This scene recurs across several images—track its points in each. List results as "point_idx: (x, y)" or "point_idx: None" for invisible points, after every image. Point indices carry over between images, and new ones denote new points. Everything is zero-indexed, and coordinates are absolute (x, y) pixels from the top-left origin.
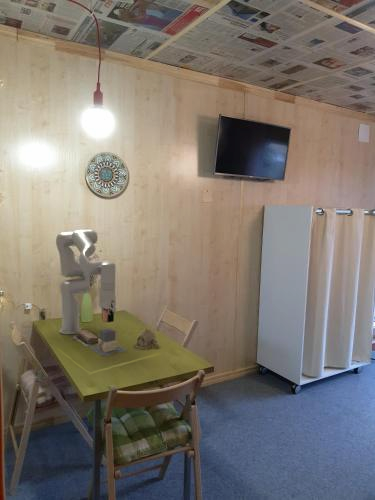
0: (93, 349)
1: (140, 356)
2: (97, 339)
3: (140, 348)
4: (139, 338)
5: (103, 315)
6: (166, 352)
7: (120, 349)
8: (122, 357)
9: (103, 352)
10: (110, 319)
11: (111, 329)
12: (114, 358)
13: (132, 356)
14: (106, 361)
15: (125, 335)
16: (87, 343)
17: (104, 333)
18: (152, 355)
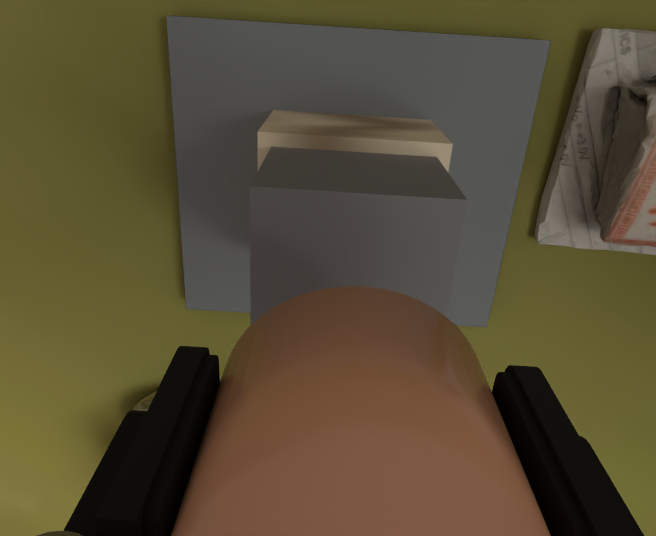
0: (434, 49)
1: (39, 331)
2: (603, 221)
3: (138, 408)
4: None
5: (342, 414)
6: (23, 501)
7: (243, 278)
8: (95, 200)
9: (274, 94)
10: (118, 431)
11: None
12: (111, 124)
13: (72, 282)
14: (75, 4)
15: None
16: (639, 84)
17: (279, 183)
18: (14, 407)
